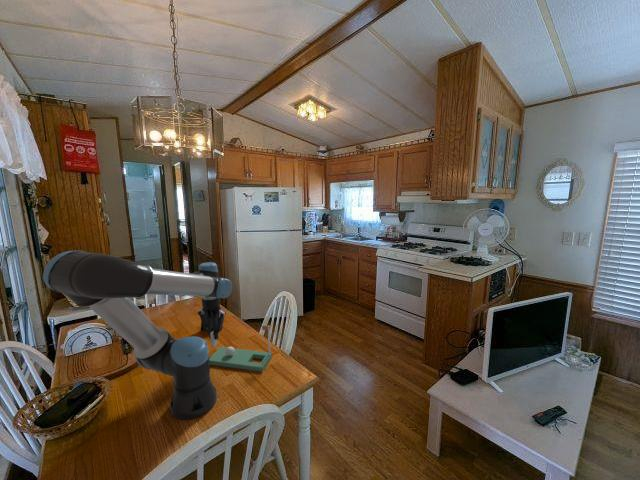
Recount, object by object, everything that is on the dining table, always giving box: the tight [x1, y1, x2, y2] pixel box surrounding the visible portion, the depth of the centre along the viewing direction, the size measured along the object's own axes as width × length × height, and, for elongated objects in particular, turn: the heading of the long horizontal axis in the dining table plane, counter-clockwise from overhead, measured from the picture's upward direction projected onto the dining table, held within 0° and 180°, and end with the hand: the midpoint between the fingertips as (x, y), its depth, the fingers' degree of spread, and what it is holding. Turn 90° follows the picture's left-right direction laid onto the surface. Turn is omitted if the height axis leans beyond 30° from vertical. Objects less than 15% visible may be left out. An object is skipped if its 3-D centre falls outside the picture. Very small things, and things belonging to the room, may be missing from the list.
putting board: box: [209, 325, 273, 373], centre depth 122 cm, size 11×26×16 cm, turn 79°
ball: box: [225, 346, 235, 356], centre depth 124 cm, size 4×4×4 cm
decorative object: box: [200, 307, 220, 332], centre depth 153 cm, size 13×10×10 cm
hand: (214, 345), depth 126 cm, fingers closed
